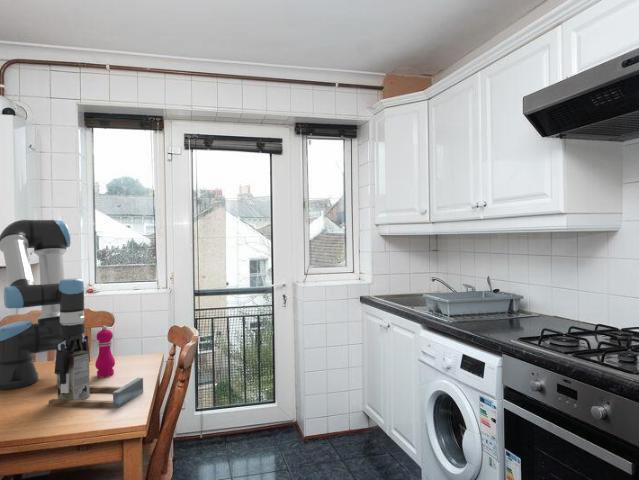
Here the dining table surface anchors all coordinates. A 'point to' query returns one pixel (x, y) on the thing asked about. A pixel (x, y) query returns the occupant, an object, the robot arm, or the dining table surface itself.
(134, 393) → the guide channel
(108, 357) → the pepper mill
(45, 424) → the dining table surface
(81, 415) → the dining table surface
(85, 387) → the coffee box
